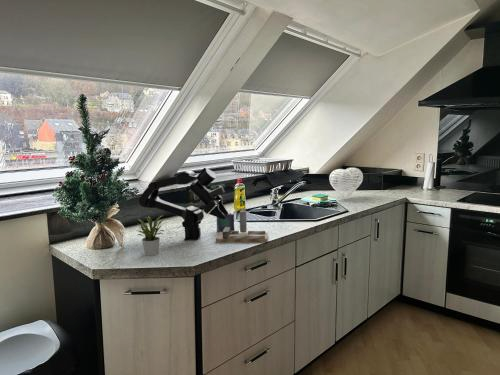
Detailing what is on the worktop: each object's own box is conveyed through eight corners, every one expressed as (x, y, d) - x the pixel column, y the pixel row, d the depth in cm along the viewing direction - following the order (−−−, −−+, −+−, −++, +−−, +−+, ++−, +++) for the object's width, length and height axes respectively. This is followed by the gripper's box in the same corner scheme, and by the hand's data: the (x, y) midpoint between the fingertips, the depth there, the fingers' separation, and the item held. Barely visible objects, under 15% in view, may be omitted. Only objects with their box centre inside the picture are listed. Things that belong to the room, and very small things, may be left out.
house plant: (175, 247, 166) (173, 210, 164) (169, 257, 152) (167, 217, 150) (141, 248, 166) (139, 211, 163) (132, 258, 152) (130, 218, 150)
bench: (215, 242, 173) (215, 232, 172) (219, 235, 184) (219, 226, 183) (267, 242, 171) (267, 232, 171) (267, 235, 182) (267, 226, 182)
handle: (238, 237, 174) (237, 212, 173) (239, 233, 181) (239, 209, 179) (247, 237, 174) (246, 212, 172) (248, 233, 180) (247, 209, 179)
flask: (216, 231, 192) (215, 210, 191) (218, 230, 195) (217, 209, 193) (233, 232, 189) (232, 211, 188) (235, 231, 192) (235, 210, 190)
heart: (348, 195, 289) (349, 166, 286) (366, 198, 277) (367, 167, 274) (324, 200, 271) (324, 169, 268) (342, 203, 259) (343, 170, 256)
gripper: (210, 183, 165) (236, 208, 166) (217, 177, 184) (240, 200, 184) (192, 201, 167) (218, 226, 168) (201, 194, 185) (224, 216, 186)
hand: (226, 216), depth 177 cm, fingers open, 9 cm apart
